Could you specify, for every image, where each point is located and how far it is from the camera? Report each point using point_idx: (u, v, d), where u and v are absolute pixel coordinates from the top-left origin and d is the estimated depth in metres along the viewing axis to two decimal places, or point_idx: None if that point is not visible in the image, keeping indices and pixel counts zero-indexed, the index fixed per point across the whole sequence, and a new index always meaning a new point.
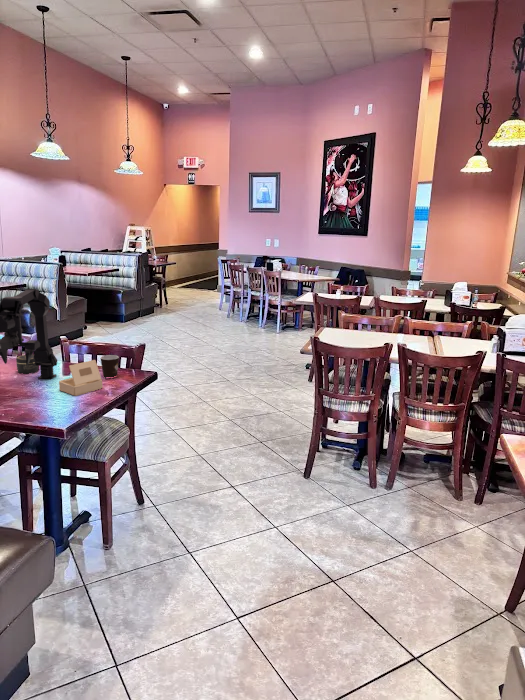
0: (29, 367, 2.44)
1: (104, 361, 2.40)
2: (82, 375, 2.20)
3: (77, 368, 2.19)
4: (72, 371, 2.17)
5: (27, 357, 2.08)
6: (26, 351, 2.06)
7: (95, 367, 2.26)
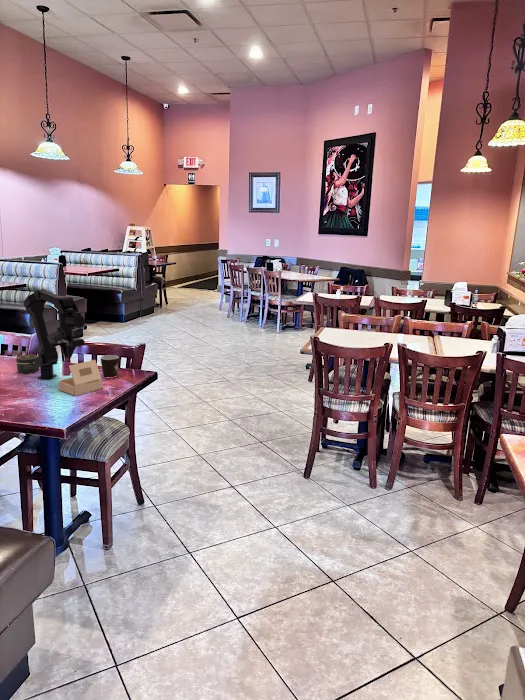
0: (29, 367, 2.44)
1: (104, 361, 2.40)
2: (82, 375, 2.20)
3: (77, 368, 2.19)
4: (72, 371, 2.17)
5: (67, 352, 2.25)
6: (65, 346, 2.23)
7: (95, 367, 2.26)
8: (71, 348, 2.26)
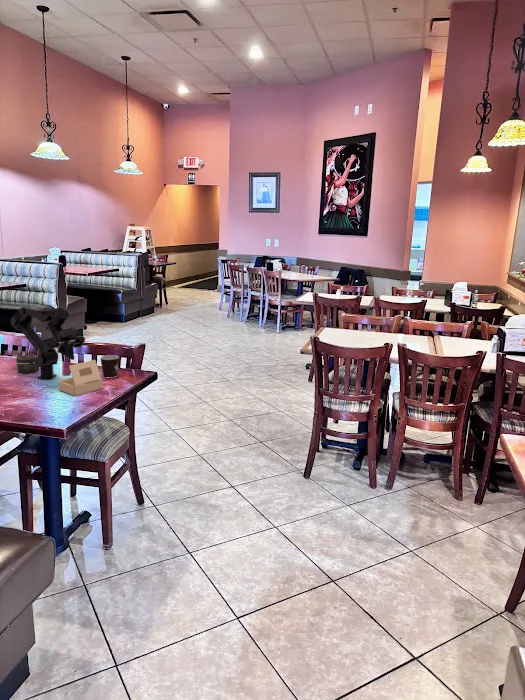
0: (29, 367, 2.44)
1: (104, 361, 2.40)
2: (82, 375, 2.20)
3: (77, 368, 2.19)
4: (72, 371, 2.17)
5: (72, 351, 2.27)
6: (71, 344, 2.27)
7: (95, 367, 2.26)
8: None
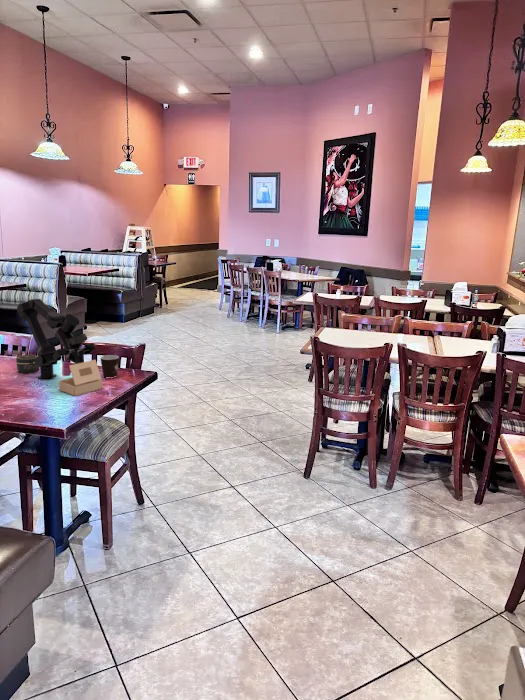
0: (29, 367, 2.44)
1: (104, 361, 2.40)
2: (82, 375, 2.20)
3: (77, 368, 2.19)
4: (72, 371, 2.17)
5: (82, 359, 2.23)
6: (81, 351, 2.23)
7: (95, 367, 2.26)
8: None
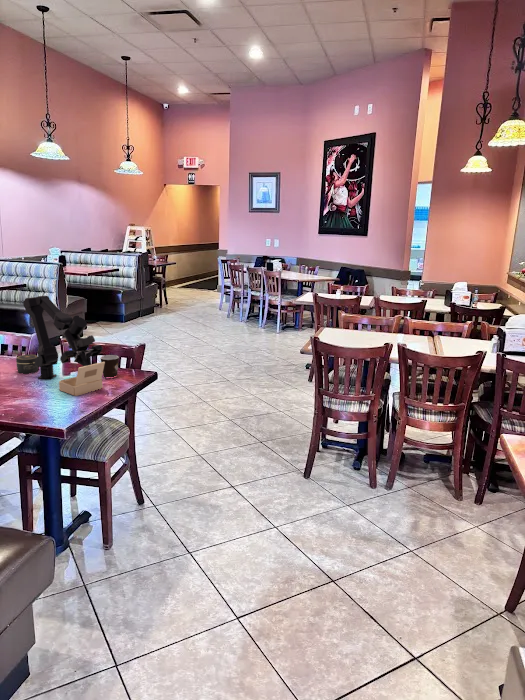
0: (29, 367, 2.44)
1: (104, 361, 2.40)
2: (86, 376, 2.18)
3: (85, 370, 2.16)
4: (79, 373, 2.14)
5: (90, 361, 2.20)
6: (89, 353, 2.20)
7: (101, 369, 2.24)
8: None
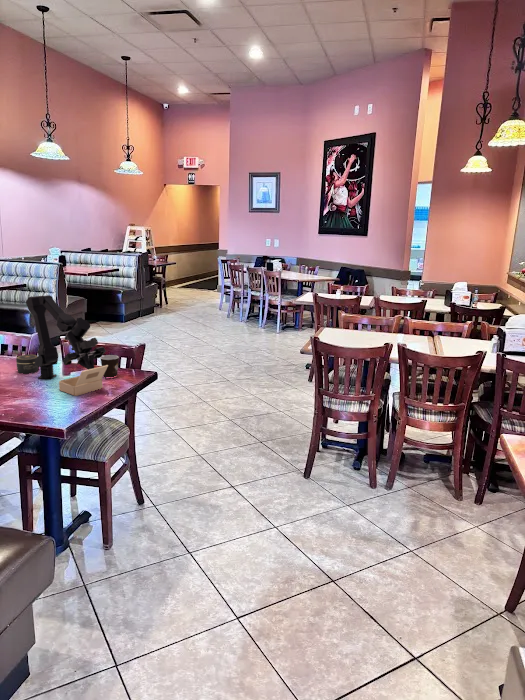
0: (29, 367, 2.44)
1: (104, 361, 2.40)
2: (87, 378, 2.18)
3: (87, 373, 2.15)
4: (81, 376, 2.14)
5: (92, 363, 2.19)
6: (92, 356, 2.19)
7: (103, 371, 2.23)
8: None
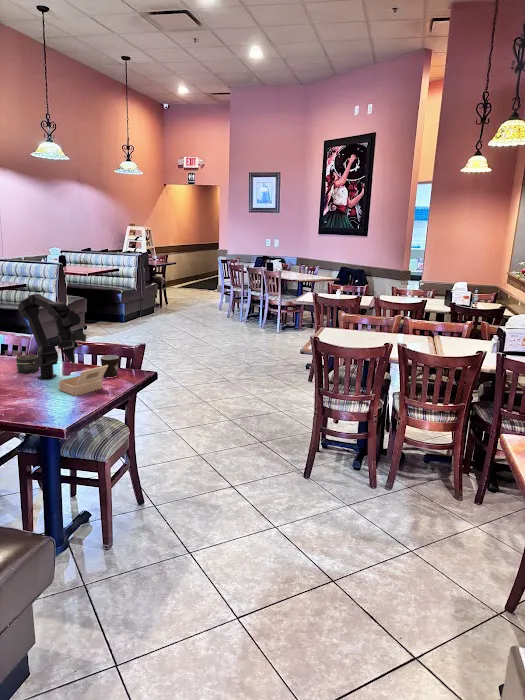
0: (29, 367, 2.44)
1: (104, 361, 2.40)
2: (87, 378, 2.18)
3: (87, 373, 2.15)
4: (81, 376, 2.14)
5: (74, 355, 2.27)
6: (75, 348, 2.28)
7: (103, 371, 2.23)
8: None
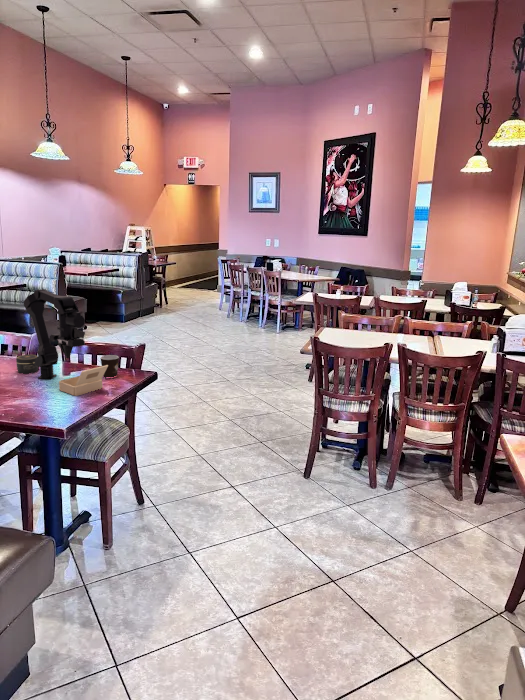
0: (29, 367, 2.44)
1: (104, 361, 2.40)
2: (87, 378, 2.18)
3: (87, 373, 2.15)
4: (81, 376, 2.14)
5: None
6: None
7: (103, 371, 2.23)
8: None
